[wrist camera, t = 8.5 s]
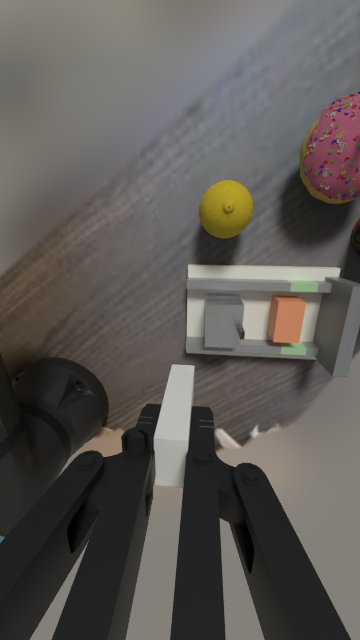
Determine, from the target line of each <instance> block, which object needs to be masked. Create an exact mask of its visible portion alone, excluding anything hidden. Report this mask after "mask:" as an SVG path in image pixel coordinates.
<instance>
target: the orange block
mask: <svg viewBox="0 0 360 640" xmlns="http://www.w3.org/2000/svg"><path fill="white" fill-rule="evenodd" d="M305 307H306V302H305V301H303V300H302V299H300V298H299V297H297V296H272V301H271V309H270V317H269V324H268V332H267V333H268V335H269V336H270V338H271V339H272V341H273V342H282V343H299V341H300V335H301V330H302V324H303V318H304V312H305Z"/></svg>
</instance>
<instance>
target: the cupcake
mask: <svg viewBox="0 0 360 640" xmlns="http://www.w3.org/2000/svg"><path fill="white" fill-rule="evenodd" d="M358 93H359V94H358ZM358 93H354V94H353V95H352V94H350V95H349V96H345V97H342V98H341V97H339V98H338V99H337V100H336V101H334V102H333V103H332V104H330V105H329V106H328V107H326V108H325V109H324V111H323V112H322V115H321V116H320V117H319V118H318V120H317V121H316V122H315V123H314V124H313V125H312V127H311V128H310V130H309V132H308V134H307V136H306V137H305V139H304V141H303V143H302V146H301V150H300V177H301V179H302V181H303V183H304V184H305V186H306V188H307V190H308V191H309V193H310V194H311V195H312V196H313V197H315V198H317V199H320V200H322V201H324V202H326V203H330V204H340V203H345V202H349V201H352V200H355V199H357V198H359V197H360V92H358Z"/></svg>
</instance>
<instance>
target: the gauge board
mask: <svg viewBox="0 0 360 640" xmlns="http://www.w3.org/2000/svg"><path fill="white" fill-rule="evenodd" d="M339 274H340V268H336V267H295V266H246V265H198V264H189V265H188V278H187V288H188V296H187V337H186V347H185V349H186V353H197V354H216V355H235V356H255V357H274V358H294V359H313V360H318V361H319V362H320V363H321V364H322V365H323V367H324V368H325V369H326V370H327V371H328V372H329V373H330V374H331V375H332V377H347V375H348V371H349V367H350V363H351V359H352V355H353V351H354V347H355V343H356V339H357V335H358V331H359V327H360V284H359V283H356V282H353V281H350V280H347V279H343V278H340V277H339ZM207 294H218V295H239V297H240V299H241V300H242V302H243V304H244V315H243V329H244V331H245V337H244V340H243V339H241V347H240V348H220V347H205V317H206V295H207ZM272 296H297V297H299V298H300V299H302V300H303V301H305V302H306V307H305V312H304V318H303V324H302V330H301V335H300V341H299V343H282V342H273V341H272V339H271V338H270V336H269V335H268V333H267V332H268V324H269V317H270V309H271V301H272Z"/></svg>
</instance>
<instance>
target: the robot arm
mask: <svg viewBox="0 0 360 640" xmlns="http://www.w3.org/2000/svg"><path fill="white" fill-rule="evenodd" d="M193 392H194V366H191V365H172V367H171V371H170V375H169V379H168V383H167V387H166V391H165V395H164V399H163V403H162V405H159V404H147V405H146V406H145V407H144V408H143V409H142V411H141V414H140V417H139V419H138V423H137V425H136V427H134V428H131V429H129V430H127V431H126V432H124V434H123V435H122V437H121V439H122V450H123V452H121V453H119V454H117V455H113V456H109V457H103V456H102V454H101V453H99V452H98V451H92V450H91V451H86V452H84V453H81V454H79V455H78V456H77V457H76V458H75V459H74V460H73V461H72V462H71V463H70V464H69V466H68V467H67V468H66V469H65V470H64V471H63V472H62V473H61V475H60V476H59V474H60V472H61V471H62V469H63V467H64V466H65V464H66V462H67V460H68V459H69V458H70V457H71V456H72V455H73V454H74V453H75V452H76V451H77V450H78V449H79V448H81V447H82V446H83V445H84V444H85V443H86V442H88V441H89V440H91V439H92V438H93V437H94V436H95V435H96V434H97V433H98V431H99V430H100V428H101V426H102V424H103V423H104V421H105V419H106V416H107V413H108V399H107V395H106V392H105V390H104V388H103V386H102V384H101V383H100V382H99V380H98V379H97V378H96V377H95V376H94V375H93V374H92V373H91V372H90V371H89V370H87V369H86V368H85V367H83V366H81V365H80V364H78V363H75V362H73V361H70V360H67V359H62V358H45V359H41V360H38V361H36V362H34V363H32V364H31V365H29V366H28V367H27V368H25V369H24V370H23V371H21V372H20V373H19V374H18V375H17V376H16V378H15V379H14V380H13V382H12V384H11V381H10V379H9V376H8V373H7V370H6V368H5V365H4V362H3V359H2V357H1V354H0V640H30V638H31V636H32V634H33V633H34V631H35V629H36V628H37V626H38V624H39V623H40V621H41V619H42V618H43V616H44V614H45V613H46V611H47V609H48V608H49V606H50V604H51V603H52V601H53V599H54V598H55V596H56V594H57V593H58V591H59V589H60V588H61V586H62V584H63V583H64V581H65V579H66V578H67V575H68V574H69V573H70V571H71V569H72V568H73V566H74V564H75V563H76V561H77V559H78V558H79V556H80V554H81V553H82V551H83V549H84V548H85V546H86V544H87V543H88V545H87V547H86V550H85V553H84V555H83V558H82V561H81V563H80V566H79V568H78V571H77V574H76V576H75V579H74V582H73V584H72V587H71V590H70V593H69V595H68V598H67V601H66V603H65V606H64V608H63V611H62V614H61V616H60V619H59V622H58V625H57V627H56V630H55V632H54V635H53V638H52V640H125V638H126V633H127V628H128V623H129V618H130V612H131V608H132V602H133V597H134V592H135V587H136V582H137V577H138V571H139V566H140V562H141V556H142V551H143V546H144V541H145V536H146V530H147V525H148V520H149V515H150V510H151V505H152V500H153V485H154V480H155V485H161V486H172V487H182V488H183V499H182V510H181V522H180V534H179V545H178V556H177V568H176V580H175V591H174V602H173V614H172V625H171V637H170V640H225V620H224V600H223V582H222V581H223V580H222V561H221V540H220V520H219V518H221V519H223V520H225V521H227V522H229V524H230V527H231V531H232V534H233V537H234V540H235V544H236V547H237V550H238V553H239V557H240V560H241V563H242V567H243V570H244V573H245V576H246V580H247V583H248V586H249V590H250V593H251V596H252V599H253V603H254V606H255V609H256V613H257V615H258V619H259V622H260V625H261V629H262V632H263V636H264V639H265V640H351V639H350V637H349V635H348V633H347V631H346V629H345V627H344V625H343V623H342V622H341V619H340V617H339V615H338V614H337V612H336V610H335V608H334V606H333V604H332V602H331V600H330V598H329V596H328V594H327V592H326V590H325V588H324V586H323V585H322V583H321V581H320V579H319V577H318V575H317V573H316V571H315V569H314V567H313V565H312V563H311V561H310V559H309V558H308V556H307V554H306V552H305V550H304V548H303V546H302V544H301V542H300V540H299V538H298V536H297V535H296V532H295V531H294V529H293V527H292V525H291V523H290V521H289V519H288V517H287V515H286V513H285V511H284V510H283V508H282V505H281V503H280V502H279V500H278V498H277V496H276V494H275V492H274V490H273V488H272V486H271V484H270V482H269V480H268V478H267V477H266V475H265V473H264V472H263V471H262V470H261V469H260V468H259V467H258V466H256V465H253V464H251V463H242V464H239V465H238V466H237V467H233V466H230V465H228V464H226V463H224V462H223V461H221V460H220V459H219V458H218V456H217V454H216V452H215V441H214V420H213V413H212V411H211V409H210V408H209V407H198V406H193ZM58 476H59V477H58ZM57 477H58V478H57ZM88 541H89V542H88Z"/></svg>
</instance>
